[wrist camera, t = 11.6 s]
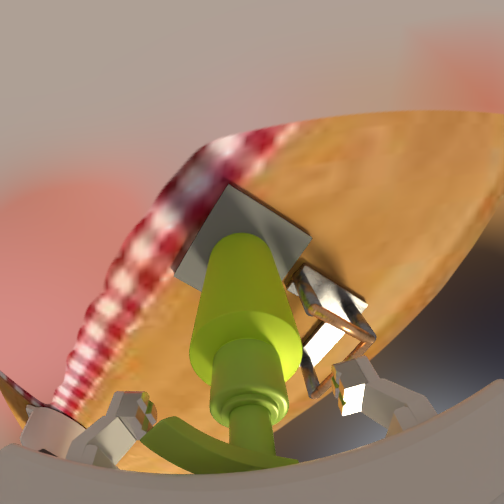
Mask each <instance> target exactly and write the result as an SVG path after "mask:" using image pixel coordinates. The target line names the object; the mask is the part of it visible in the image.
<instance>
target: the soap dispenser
mask: <svg viewBox="0 0 504 504" xmlns="http://www.w3.org/2000/svg"><path fill="white" fill-rule="evenodd" d="M302 355H303V347H302V342H301V339H300V336H299V333H298V329H297V326H296V323H295V320H294V317H293V314H292V311H291V308H290V305H289V302H288V299H287V296H286V293H285V290H284V288H283V285H282V282H281V279H280V276H279V273H278V270H277V267H276V264H275V261H274V258H273V255H272V252H271V250H270V248H269V247H268V245H267V244H266V243H265V242H264V241H263V240H262V239H260V238H259V237H257V236H255V235H252V234H249V233H234V234H231V235H228V236H226V237H224V238H223V239H221V240H220V241H219V242H218V243H217V244H216V245H215V246H214V248H213V250H212V252H211V254H210V258H209V262H208V267H207V271H206V275H205V279H204V284H203V288H202V293H201V297H200V301H199V306H198V310H197V315H196V320H195V324H194V329H193V334H192V339H191V343H190V349H189V357H190V362H191V365H192V367H193V369H194V371H195V372H196V374H197V375H198V376H199V377H200V378H201V379H202V380H203V381H204V382H205V383H207V384H208V385H210V386H211V391H210V412H211V415H212V416H213V418H214V419H215V420H216V421H217V422H218V423H220V424H221V425H223V426H225V427H228V428H229V444H228V443H225V442H223V441H220V440H218V439H215V438H213V437H211V436H209V435H207V434H205V433H203V432H201V431H199V430H198V429H196V428H194V427H193V426H191V425H189V424H188V423H186V422H185V421H183V420H182V419H180V418H178V417H176V416H173V417H169V418H166V419H163V420H161V421H160V422H159V423H157V424H156V425H155V426H154V427H153V428H152V429H151V430H149V431H148V432H147V433H146V434H145V435H144V436H143V437H142V438H141V439H140V441H141V443H143V444H144V445H145V446H146V447H148V448H149V449H150V450H152V451H153V452H155V453H156V454H158V455H159V456H161V457H162V458H164V459H166V460H167V461H169V462H171V463H173V464H174V465H176V466H178V467H180V468H182V469H184V470H187V471H189V472H191V473H194V474H220V473H234V472H245V471H254V470H262V469H269V468H275V467H281V466H287V465H292V464H298V463H299V462H298V460H295V459H289V458H283V457H278V456H276V453H275V446H274V438H273V430H272V426H273V425H275V424H276V423H278V422H279V421H280V420H282V419H283V418H284V416H285V415H286V414H287V412H288V409H289V400H288V395H287V390H286V385H285V382H286V381H287V380H288V379H290V378H291V377H292V376H293V374H294V373H295V372H296V370H297V369H298V367H299V365H300V363H301V360H302Z"/></svg>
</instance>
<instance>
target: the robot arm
mask: <svg viewBox="0 0 504 504" xmlns="http://www.w3.org/2000/svg"><path fill="white" fill-rule="evenodd" d="M331 371H332V374H333V377H332V378H331V384H332V390H333V393H334V396H335V398H337V399H338V406H339V409H340V411H341V414H342V415H343V416H344V415H348V414H351V413H355V412H358V411H361V412H362V413H364V414H365V415H367V416H368V417H370V418H371V419H373V420H374V421H376V422H377V423H379V424H380V425H382V426H384V427H385V428H387V429H388V431H387V434H386V437H385V439H382V440H379V441H376V442H374V443H371V444H368V445H365V446H362V447H359V448H356V449H352V450H349V451H346V452H342V453H339V454H335V455H332V456H328V457H324V458H320V459H316V460H312V461H308V462H302V463H298V464H292V465H287V466H281V467H275V468H269V469H262V470H254V471H245V472H234V473H220V474H159V473H145V472H135V471H126V470H120V469H119V468H118V467H117V466H116V464H117V463H118V462H119V461H120V459H121V458H122V457H123V456H124V455H125V454H126V452H127V451H128V450H129V449H130V448H131V447H132V445H133V444H134V443H135V442H136V440H140V439H141V438H142V437H143V436H144V435H145V434H146V433H147V432H148V431H149V430H151V429H152V428H153V425H154V424H155V423H156V421H157V410H156V407H155V405H154V403H152V402H151V401H149V395H148V393H147V392H142V391H117V392H115V393H114V396H113V398H112V401H111V403H110V406H109V408H108V411H107V414H106V416H102V417H101V418H100V419H99V420H97V421H96V422H95V423H94V424H92V425H91V426H90V427H89V428H87V429H85V428H83V427H82V426H81V425H79V424H78V423H77V422H75V421H74V420H72V419H70V418H69V417H67V416H65V415H63V414H62V413H60V412H57V411H55V410H53V409H50V408H46V407H34V406H32V405H27V406H26V411H27V414H28V416H29V419H28V421H27V423H26V425H25V427H24V429H23V432H22V434H21V436H20V440H21V443H22V446H21V445H19V444H15V443H13V444H10V445H8V446H6V447H4V448H3V449H1V450H0V504H504V379H498V380H495V381H494V382H492V383H490V384H489V385H488V386H486V387H484V388H483V389H481V390H480V391H478V392H477V393H475V394H474V395H472V396H470V397H469V398H467V399H465V400H464V401H462V402H460V403H459V404H457V405H455V406H453V407H451V408H450V409H448V410H446V411H444V412H442V413H440V414H437V413H436V411H435V410H434V408H433V407H432V405H431V404H430V402H429V401H428V399H427V398H426V397H425V396H423V395H421V394H419V393H416V392H414V391H412V390H409V389H407V388H405V387H402V386H400V385H398V384H395V383H393V382H391V381H389V380H386V379H384V378H382V379H380V378H379V376H378V374H377V373H376V371H375V370H374V368H373V366H372V365H371V363H370V361H369V360H368V358H367V357H366V356H365V355H364V356H361V357H358V358H354V359H351V360H347V361H344V362H340V363H337V364H333V365H332V367H331Z"/></svg>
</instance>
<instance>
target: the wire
mask: <svg viewBox="0 0 504 504" xmlns="http://www.w3.org/2000/svg"><path fill="white" fill-rule="evenodd" d="M286 288H287V290H288V291H290V292H292V293H293V294H295V295H297V296H299V298H300V300H301V302H302V305H303V307H304V310H305V312H306V314H307V315H309V316H315V317H316V318H318V319H320V320H322V321H323V322H322V323H321V324H320V325H319V326H318V328H317V329H316V330H315V331H314V332H313V333H312V335H311V336H310V337H309V338H308V339H307V340H306V341H305V343H304V344H303V345H302V347H303V355H302V360H301V363H300V365H299V367H301V370H302V373H303V377H304V380H305V384H306V388H307V391H308V395H309V397H310V398H311V399H318V398H319V397H320V396H321V395H322V394H324V393H325V392H326V391H327V390H328V389H329V388H330V387H331V386H332V384H331V378H332V377H333V374H332V373H331V374H330V375H329V376H328V377H327V378H326V379H325V380H324V381H323V382H321V383H320V384H319V381H318V378H317V375H316V372H315V369H314V366H315V365H316V364H317V363H318V362H319V361H320V360H321V359H322V358H323V356H324V355H325V354H326V353H327V352H328V351H329V350H330V349H331V348H332V347H333V346H334V345H335V343H336V342H337V341H338V340H339V339H340V338H341V337H342V336H343V334H344V333H347V334H348V335H350V336H352V337H354V338H356V339H358V340H360V341H361V342H360V343H359V344H358V345H357V346H356V348H355V349H354V350H353V351H352V352H351V353H350V354H349V355H348V356H347V357H346V358H345V359H344V360H343V361H342V362H344V361H347V360H351V359H354V358H358V357H361V356H362V355H363V354H364V353H365V352H366V350H367V349H368V348H369V347H370V346H371V345H372V344H373V343H374V342H375V340H376V335H375V333H374V332H373V330H372V329H371V327H370V326H369V324H368V323H367V321H366V320H365V319H364V317H363V316H362V314H361V313H362V312H363V311H364V310H365V308H366V307H367V306H368V304H367V303H366V302H365V301H363V300H362V299H360V298H358V297H357V296H355V295H354V294H352V293H351V292H349V291H348V290H346V289H344V288H343V287H341V286H340V285H338V284H336V283H335V282H333V281H332V280H330V279H329V278H327V277H325V276H324V275H322V274H321V273H319V272H317V271H316V270H314V269H313V268H311V267H309V266H308V265H306V264H305V263H304V264H303V265H302V266H301V268H300V269H299V270H298V271H297V272H295V273H294V274H293V276H292V280H291V281H290V283H289V284H288V285H287V287H286Z"/></svg>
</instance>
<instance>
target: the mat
mask: <svg viewBox="0 0 504 504" xmlns="http://www.w3.org/2000/svg"><path fill="white" fill-rule="evenodd" d="M234 233H249V234H252V235H255V236H257V237H259V238H260V239H262V240H263V241H264V242H265V243H266V244H267V245H268V247H269V248H270V250H271V252H272V255H273V258H274V261H275V264H276V267H277V270H278V273H279V276H280V279H281V281H282V280H283V279H284V277H285V276H286V275H287V273H288V272H289V270H290V269H291V268H292V266H293V265H294V264H295V262H296V261H297V259H298V258H299V257H300V255H301V254H302V253H303V251H304V250H305V248H306V247H307V246H308V244H309V243H310V241H311V240H312V237H311V236H309V235H308V234H306V233H305V232H303V231H302V230H300V229H299V228H297V227H296V226H294V225H293V224H291V223H290V222H288V221H287V220H285V219H283V218H282V217H280V216H279V215H277V214H276V213H274V212H273V211H271V210H269V209H268V208H266V207H265V206H263V205H262V204H260V203H258V202H257V201H255V200H254V199H252V198H250V197H249V196H247V195H246V194H244V193H242V192H241V191H239V190H238V189H236V188H234V187H233V186H231V185H229V184H228V185H227V187H226V189H225V190H224V192H223V193H222V195H221V197H220V198H219V200H218V201H217V203H216V205H215V206H214V208H213V209H212V211H211V213H210V214H209V216H208V218H207V219H206V221H205V223H204V224H203V226H202V228H201V229H200V231H199V233H198V234H197V236H196V238H195V239H194V241H193V243H192V244H191V246H190V248H189V250H188V251H187V253H186V255H185V256H184V258H183V260H182V262H181V263H180V265H179V267H178V269H177V270H176V272H175V274H174V277H176V278H178V279H179V280H181V281H183V282H185V283H187V284H188V285H190V286H192V287H194V288H195V289H197V290H199V291H201V292H202V288H203V284H204V279H205V275H206V271H207V267H208V262H209V258H210V254H211V252H212V250H213V248H214V246H215V245H216V244H217V243H218V242H219V241H220V240H221V239H223V238H224V237H226V236H228V235H231V234H234Z"/></svg>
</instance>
